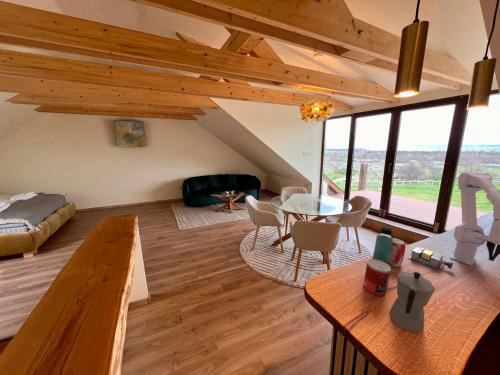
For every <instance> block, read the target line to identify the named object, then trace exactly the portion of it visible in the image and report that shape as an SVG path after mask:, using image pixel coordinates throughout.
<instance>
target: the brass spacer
mask: <svg viewBox="0 0 500 375" xmlns="http://www.w3.org/2000/svg"><path fill="white" fill-rule="evenodd" d="M433 255H434V251H431V250H428V249H425V250H424V251H423V253H422V257H421V259H423V260H426V261H428V262H430V256H433Z"/></svg>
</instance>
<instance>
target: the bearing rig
mask: <svg viewBox="0 0 500 375" xmlns="http://www.w3.org/2000/svg"><path fill="white" fill-rule="evenodd" d="M425 250H426V249H425V248H424V247H421V246H418V245H417V246H416V247H415V248H414V249H412V250H411V254H410V256H409V257H408V259H409V260H412V261H414V262H416V263H419V264H421V265H424V266H427V267H429V268H432V269H434V270H435V271H441V269H442V268H443V267H444V265H443V264H441V263H439V262H440V260H442V261H443V258H444V255H443V254H440V253H439V252H433V255H432V257H431V258H430V262H428V261H426V260H423V259H421V257H422V256H420V255H421V253H423V251H425Z"/></svg>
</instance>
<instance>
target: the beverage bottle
mask: <svg viewBox="0 0 500 375" xmlns="http://www.w3.org/2000/svg"><path fill="white" fill-rule="evenodd" d="M392 233H393V230H392V229H391V227H388V226H387V227H386V226H382V227H381V228H380V233H379V234H377V235H376V237H375V238H376V239H375V243H374V244H375V245H374V250H373V254H372V259H376V260H380V261H383V262H385V263H386V264H389V263H388V262H389V259H390V258H389V257H390V252H391V250H392V242H393V239H392V238H393V237H392V236H391V235H392Z"/></svg>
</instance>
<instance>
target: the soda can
mask: <svg viewBox="0 0 500 375" xmlns="http://www.w3.org/2000/svg"><path fill="white" fill-rule="evenodd" d="M392 239H393V242H392V250H391V252H390V257H389V258H390V259H389V262H388V263H389V264H388V265H389V266H390V267H393V268H398V267H401V266H402V264H403V261H404V259H405V258H404V257H405V252H406V244H405V243H406V242H405V241H404V240H402V239H399V238H396V237H392Z"/></svg>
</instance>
